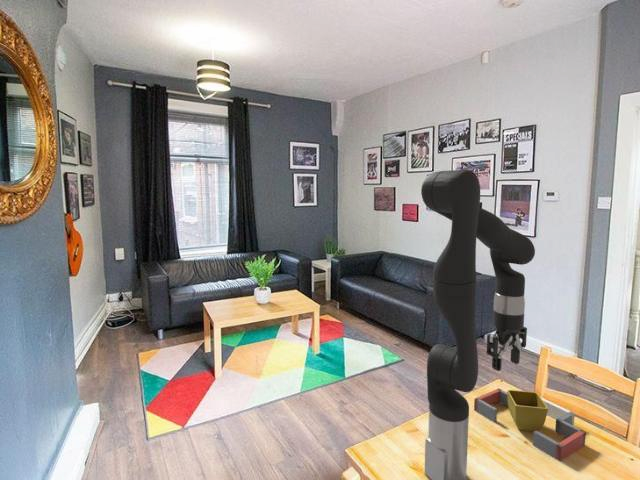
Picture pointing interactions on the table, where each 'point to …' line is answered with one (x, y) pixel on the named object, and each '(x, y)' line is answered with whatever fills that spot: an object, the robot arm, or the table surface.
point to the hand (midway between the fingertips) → (505, 366)
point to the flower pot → (527, 409)
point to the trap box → (544, 443)
